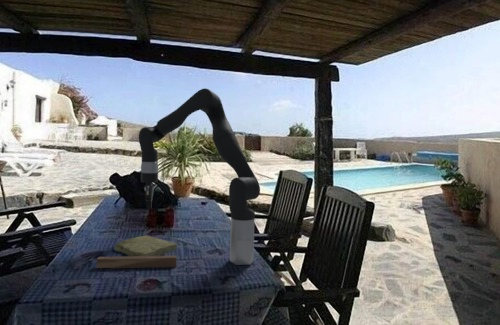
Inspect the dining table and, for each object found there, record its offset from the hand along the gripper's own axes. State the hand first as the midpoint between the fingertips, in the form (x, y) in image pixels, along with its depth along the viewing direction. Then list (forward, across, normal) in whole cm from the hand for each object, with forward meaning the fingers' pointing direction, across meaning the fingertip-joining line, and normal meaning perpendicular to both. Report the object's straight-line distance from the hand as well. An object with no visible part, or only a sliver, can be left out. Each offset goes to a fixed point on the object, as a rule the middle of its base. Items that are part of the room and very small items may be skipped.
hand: (149, 208), depth 171 cm
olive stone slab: (+15, -16, 0) cm, 22 cm away
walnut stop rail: (+14, -35, 0) cm, 38 cm away
